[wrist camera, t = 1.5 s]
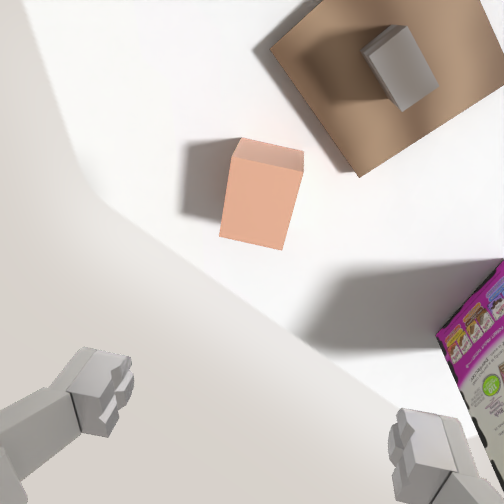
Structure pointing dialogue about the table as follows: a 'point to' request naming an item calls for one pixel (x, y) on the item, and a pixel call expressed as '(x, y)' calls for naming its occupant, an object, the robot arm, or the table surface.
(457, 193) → the table surface
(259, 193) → the salmon rectangular block
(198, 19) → the table surface
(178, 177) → the table surface
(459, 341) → the candy bar box
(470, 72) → the base
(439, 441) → the robot arm
